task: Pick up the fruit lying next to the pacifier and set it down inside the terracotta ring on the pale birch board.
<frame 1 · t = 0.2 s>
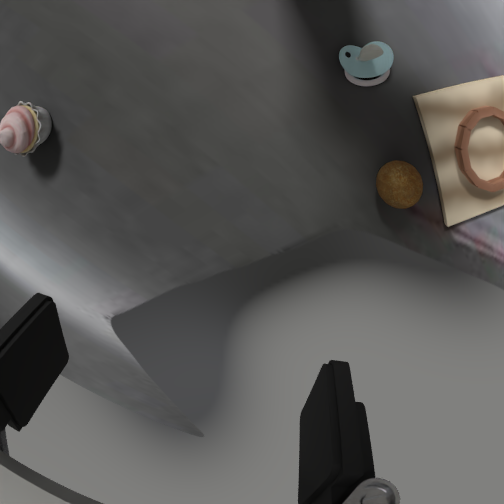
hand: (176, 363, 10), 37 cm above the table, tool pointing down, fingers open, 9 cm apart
ring board: (483, 146, 37), on the table
cupcake: (40, 124, 43), on the table
fruit: (390, 176, 42), on the table
pacifier: (364, 65, 36), on the table
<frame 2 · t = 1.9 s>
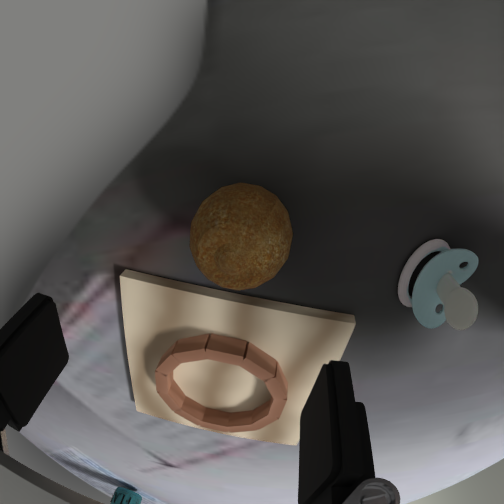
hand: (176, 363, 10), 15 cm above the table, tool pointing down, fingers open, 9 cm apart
ring board: (224, 373, 31), on the table
beverage bottle: (131, 487, 54), on the table
fruit: (250, 212, 24), on the table
pacifier: (430, 272, 24), on the table
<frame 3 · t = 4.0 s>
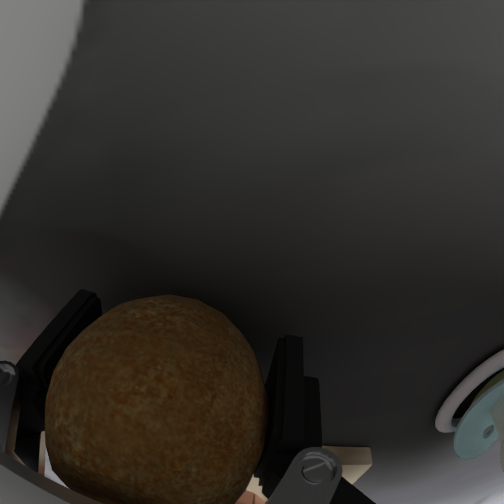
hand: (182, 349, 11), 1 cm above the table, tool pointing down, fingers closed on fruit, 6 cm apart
ring board: (187, 486, 19), on the table
fruit: (192, 323, 12), on the table, touching gripper
pacifier: (485, 385, 12), on the table
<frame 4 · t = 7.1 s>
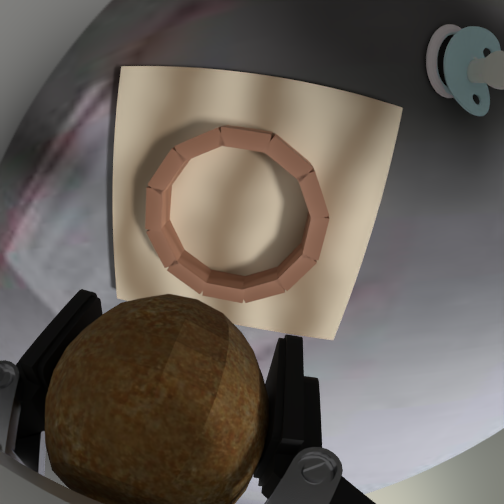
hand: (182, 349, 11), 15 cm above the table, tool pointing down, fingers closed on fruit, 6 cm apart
ring board: (239, 208, 24), on the table
fruit: (192, 323, 12), point 14 cm above the table, touching gripper
pacifier: (455, 65, 18), on the table
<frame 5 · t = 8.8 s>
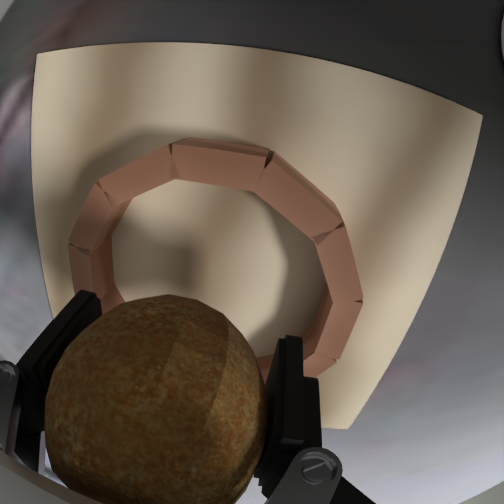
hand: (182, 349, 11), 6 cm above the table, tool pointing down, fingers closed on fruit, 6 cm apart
ring board: (216, 268, 16), on the table
fruit: (192, 323, 12), point 4 cm above the table, touching gripper
when the fingers open (4 cm above the table, at t = 10.1 s): fruit drops 1 cm, resting on ring board.
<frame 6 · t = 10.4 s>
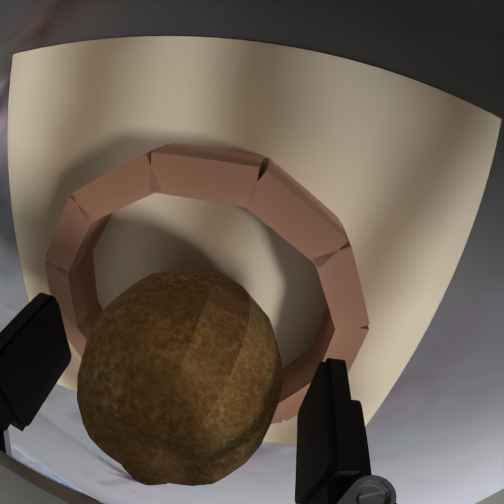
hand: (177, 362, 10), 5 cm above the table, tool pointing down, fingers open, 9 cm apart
ring board: (207, 286, 14), on the table
fruit: (210, 299, 13), point 1 cm above the table, touching ring board
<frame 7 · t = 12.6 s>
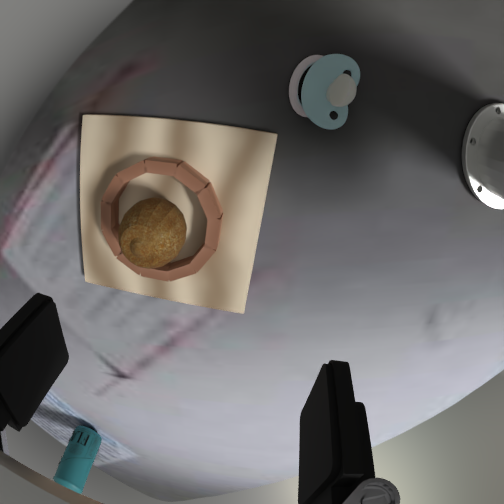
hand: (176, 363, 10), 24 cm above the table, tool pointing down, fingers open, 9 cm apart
ring board: (165, 213, 33), on the table
beverage bottle: (91, 428, 55), on the table
fruit: (166, 216, 32), point 1 cm above the table, touching ring board
pacifier: (320, 88, 27), on the table
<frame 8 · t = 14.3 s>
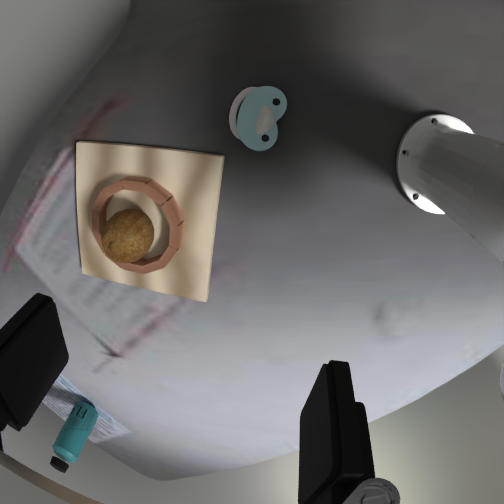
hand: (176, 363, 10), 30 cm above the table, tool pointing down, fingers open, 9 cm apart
ring board: (142, 220, 41), on the table
beverage bottle: (90, 404, 64), on the table
fruit: (141, 222, 40), point 1 cm above the table, touching ring board
pacifier: (256, 115, 35), on the table
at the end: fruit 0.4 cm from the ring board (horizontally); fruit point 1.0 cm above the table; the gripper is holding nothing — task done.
